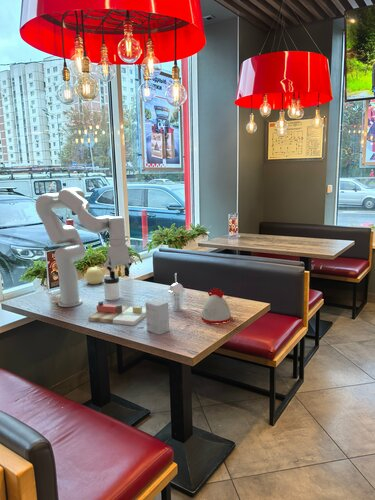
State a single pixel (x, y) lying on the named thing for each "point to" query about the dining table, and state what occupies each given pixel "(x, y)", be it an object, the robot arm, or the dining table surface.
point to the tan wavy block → (107, 315)
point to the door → (130, 316)
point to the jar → (111, 288)
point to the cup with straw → (176, 295)
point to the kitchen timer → (215, 308)
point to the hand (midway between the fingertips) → (119, 277)
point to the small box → (157, 316)
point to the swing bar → (106, 307)
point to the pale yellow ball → (95, 275)
